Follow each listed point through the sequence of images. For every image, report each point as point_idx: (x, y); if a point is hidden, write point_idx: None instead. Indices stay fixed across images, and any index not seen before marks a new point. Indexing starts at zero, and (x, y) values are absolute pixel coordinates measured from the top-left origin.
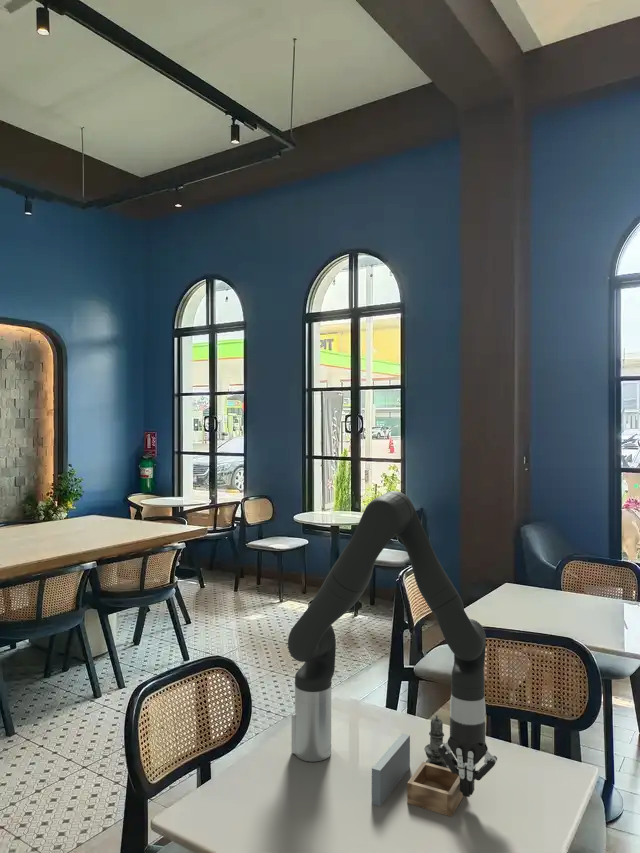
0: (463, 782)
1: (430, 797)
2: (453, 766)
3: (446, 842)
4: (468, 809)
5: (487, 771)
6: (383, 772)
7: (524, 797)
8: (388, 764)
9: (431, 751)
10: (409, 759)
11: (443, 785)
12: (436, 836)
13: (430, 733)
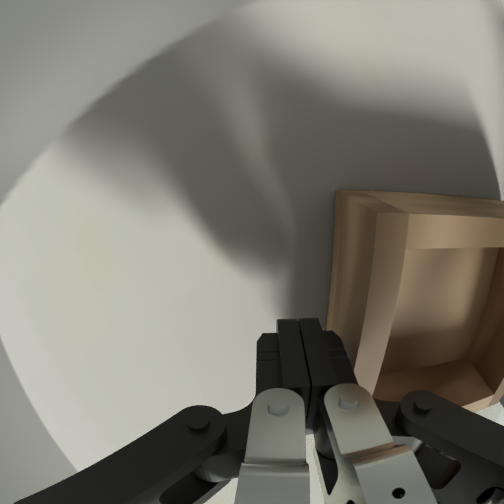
0: (325, 369)
1: (468, 207)
2: (439, 434)
3: (291, 4)
4: (278, 293)
5: (87, 472)
6: None
7: (133, 423)
8: None
9: (450, 458)
10: (501, 399)
11: (407, 367)
12: (347, 23)
13: None
